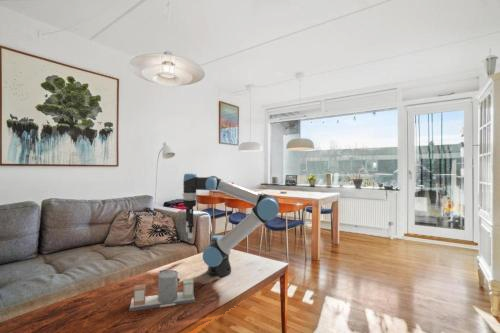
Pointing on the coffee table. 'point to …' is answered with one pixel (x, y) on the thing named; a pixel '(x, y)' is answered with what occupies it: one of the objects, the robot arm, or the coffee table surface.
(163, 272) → the beer can
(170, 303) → the shelf board
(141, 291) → the clay box
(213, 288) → the coffee table surface
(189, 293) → the sage box
